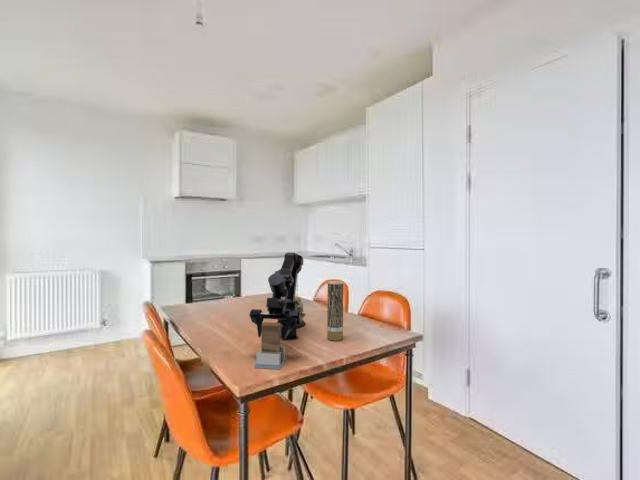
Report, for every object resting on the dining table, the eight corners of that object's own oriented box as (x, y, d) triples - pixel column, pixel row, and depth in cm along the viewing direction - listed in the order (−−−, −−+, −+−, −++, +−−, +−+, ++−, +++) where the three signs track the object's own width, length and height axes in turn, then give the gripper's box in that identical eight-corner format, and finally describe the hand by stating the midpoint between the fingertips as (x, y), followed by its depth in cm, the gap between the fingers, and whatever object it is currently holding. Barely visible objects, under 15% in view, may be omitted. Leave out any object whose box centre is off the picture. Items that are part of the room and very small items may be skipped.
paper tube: (342, 336, 156) (342, 280, 155) (343, 341, 149) (344, 283, 148) (326, 336, 155) (327, 280, 155) (327, 341, 149) (328, 283, 148)
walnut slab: (264, 358, 126) (264, 322, 126) (280, 358, 125) (280, 322, 125) (261, 361, 122) (261, 324, 122) (278, 362, 122) (278, 325, 121)
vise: (265, 353, 133) (265, 340, 133) (288, 354, 132) (288, 341, 132) (254, 367, 119) (254, 353, 119) (280, 369, 118) (280, 354, 118)
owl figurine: (281, 332, 162) (280, 296, 161) (267, 327, 171) (266, 292, 170) (310, 325, 174) (310, 291, 173) (296, 321, 182) (296, 288, 182)
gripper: (250, 287, 130) (241, 325, 120) (300, 289, 128) (294, 327, 118) (257, 304, 138) (248, 340, 128) (303, 305, 136) (298, 342, 126)
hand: (271, 337), depth 124 cm, fingers open, 9 cm apart
